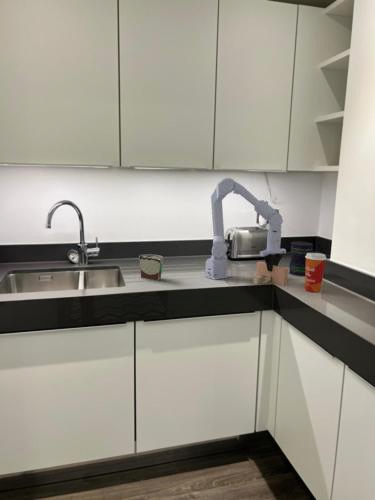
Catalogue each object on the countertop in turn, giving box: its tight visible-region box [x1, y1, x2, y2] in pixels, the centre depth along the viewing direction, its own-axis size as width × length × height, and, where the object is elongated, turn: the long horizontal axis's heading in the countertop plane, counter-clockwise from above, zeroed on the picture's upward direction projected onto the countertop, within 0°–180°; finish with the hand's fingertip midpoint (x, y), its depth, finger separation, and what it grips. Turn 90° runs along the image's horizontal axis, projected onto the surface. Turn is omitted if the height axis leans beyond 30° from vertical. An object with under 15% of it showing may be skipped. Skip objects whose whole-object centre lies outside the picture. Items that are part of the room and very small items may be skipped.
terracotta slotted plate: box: [255, 261, 289, 286], centre depth 165 cm, size 16×2×7 cm, turn 35°
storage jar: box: [288, 240, 314, 277], centre depth 179 cm, size 10×10×15 cm
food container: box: [138, 253, 165, 282], centre depth 164 cm, size 12×6×10 cm, turn 59°
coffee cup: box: [304, 252, 327, 294], centre depth 152 cm, size 8×8×15 cm
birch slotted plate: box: [252, 274, 289, 285], centre depth 166 cm, size 20×2×3 cm, turn 125°
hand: (271, 270), depth 165 cm, fingers closed on terracotta slotted plate, 2 cm apart
